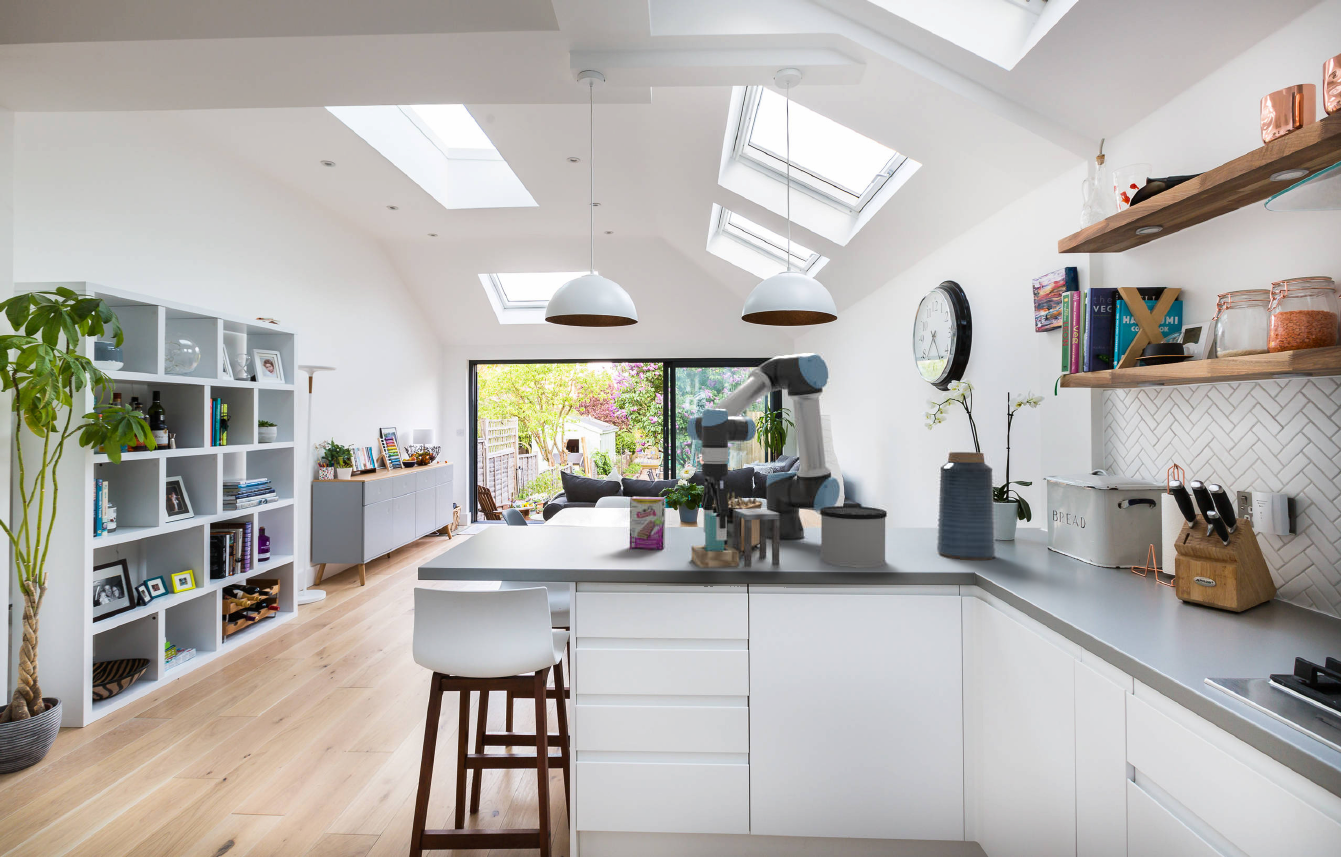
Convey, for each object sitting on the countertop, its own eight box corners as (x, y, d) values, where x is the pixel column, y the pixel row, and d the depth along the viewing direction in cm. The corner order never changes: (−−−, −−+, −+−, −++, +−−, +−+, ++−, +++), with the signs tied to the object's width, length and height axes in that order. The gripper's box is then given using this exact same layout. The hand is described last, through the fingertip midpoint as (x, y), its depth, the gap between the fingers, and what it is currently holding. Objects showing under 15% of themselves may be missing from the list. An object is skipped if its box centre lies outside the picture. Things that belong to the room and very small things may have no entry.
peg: (719, 560, 187) (719, 513, 187) (724, 563, 183) (724, 515, 183) (705, 561, 186) (705, 513, 186) (709, 564, 182) (709, 515, 182)
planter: (783, 557, 193) (783, 495, 194) (701, 558, 191) (702, 495, 192) (765, 544, 218) (765, 489, 219) (692, 545, 216) (692, 489, 217)
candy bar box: (629, 549, 205) (629, 498, 205) (631, 546, 210) (631, 496, 210) (663, 549, 204) (663, 498, 204) (665, 547, 209) (665, 496, 209)
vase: (994, 552, 200) (994, 452, 200) (996, 562, 186) (996, 454, 186) (938, 548, 207) (938, 451, 207) (935, 557, 193) (936, 453, 192)
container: (815, 564, 183) (815, 512, 183) (824, 552, 201) (825, 504, 201) (884, 569, 176) (884, 515, 176) (888, 557, 194) (888, 507, 194)
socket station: (764, 556, 194) (764, 508, 194) (779, 564, 182) (779, 513, 182) (691, 559, 189) (691, 510, 189) (701, 567, 177) (701, 515, 177)
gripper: (691, 460, 196) (691, 529, 196) (714, 465, 171) (714, 544, 172) (715, 460, 197) (715, 528, 197) (741, 464, 173) (740, 543, 173)
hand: (714, 536), depth 185 cm, fingers open, 13 cm apart
